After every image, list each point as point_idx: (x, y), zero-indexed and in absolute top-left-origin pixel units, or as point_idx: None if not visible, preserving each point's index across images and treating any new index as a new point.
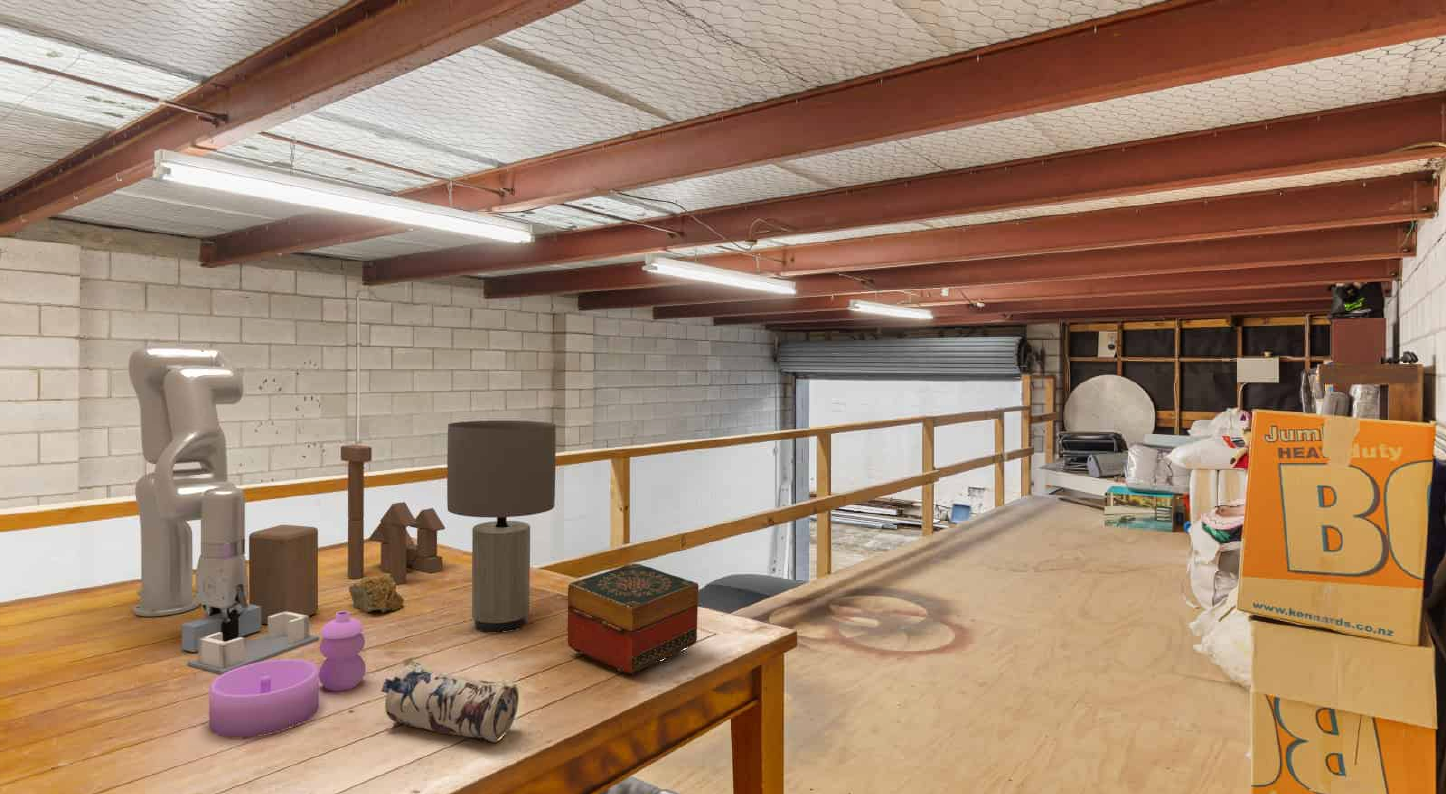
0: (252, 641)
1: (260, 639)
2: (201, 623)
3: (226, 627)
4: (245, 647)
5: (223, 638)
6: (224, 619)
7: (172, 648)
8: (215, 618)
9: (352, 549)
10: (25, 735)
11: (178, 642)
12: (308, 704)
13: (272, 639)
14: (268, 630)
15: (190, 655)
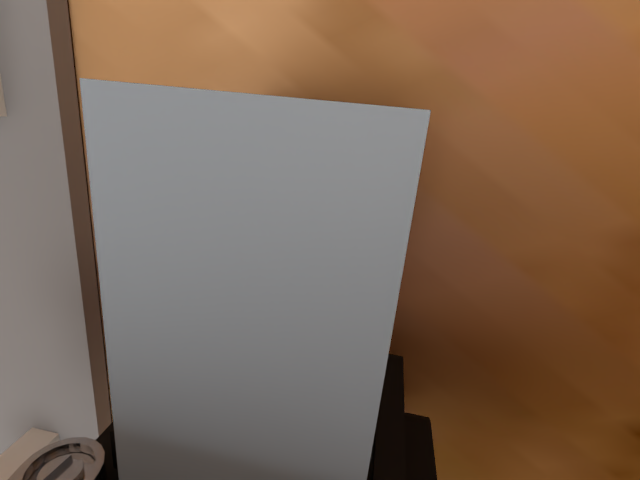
0: (77, 373)
1: (68, 407)
2: (157, 270)
3: None
4: (8, 280)
5: None
6: (93, 475)
7: (552, 131)
8: (196, 477)
9: None
10: None
11: (627, 260)
12: None
13: (18, 420)
14: (5, 473)
15: (248, 66)
